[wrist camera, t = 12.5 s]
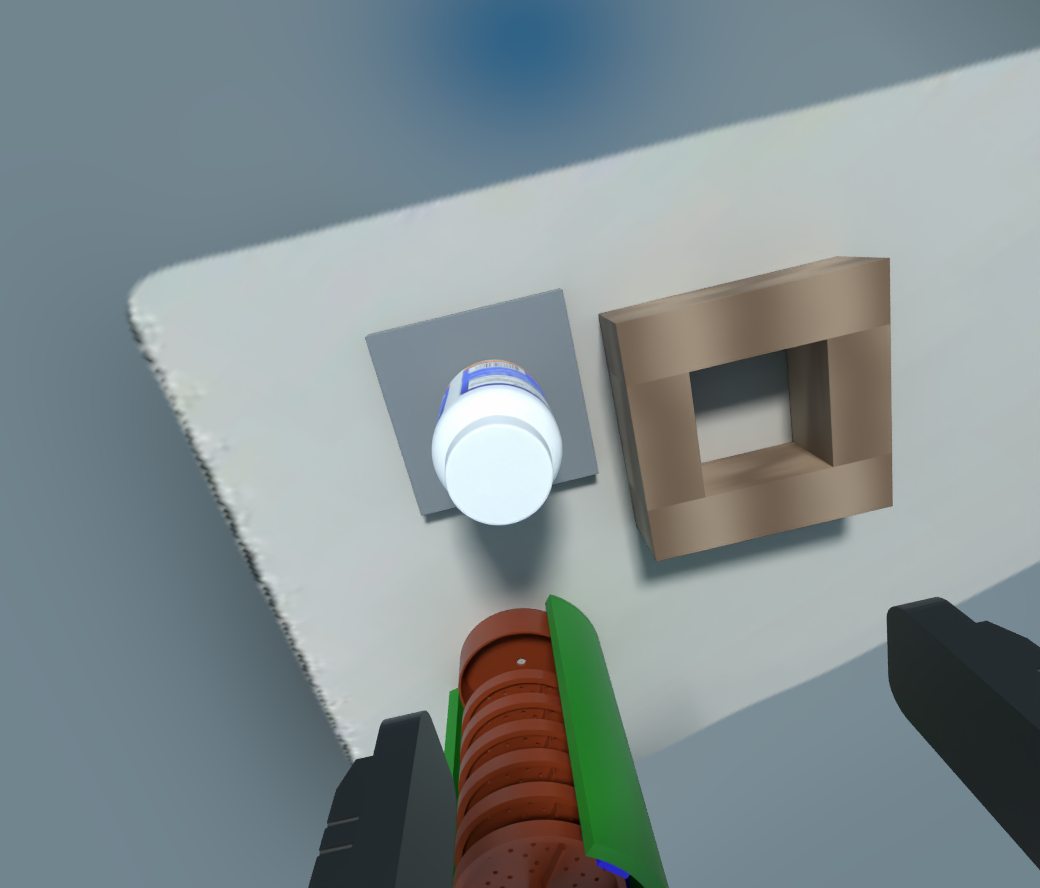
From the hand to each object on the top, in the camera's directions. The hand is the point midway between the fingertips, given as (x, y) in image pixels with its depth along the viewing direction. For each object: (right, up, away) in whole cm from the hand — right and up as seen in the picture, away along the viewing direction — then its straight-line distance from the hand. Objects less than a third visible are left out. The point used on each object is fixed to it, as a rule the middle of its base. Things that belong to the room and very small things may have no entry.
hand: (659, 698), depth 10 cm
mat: (-4, +6, +21) cm, 22 cm away
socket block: (+9, +7, +22) cm, 25 cm away
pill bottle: (-4, +6, +20) cm, 22 cm away
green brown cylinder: (-2, -9, +27) cm, 29 cm away
